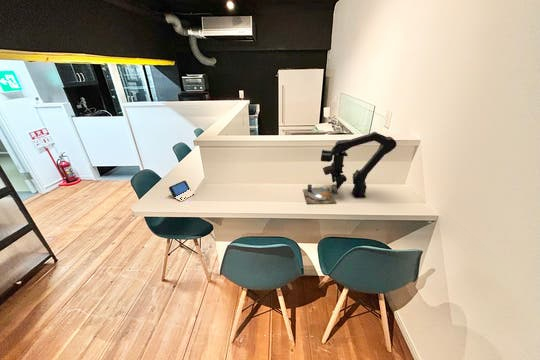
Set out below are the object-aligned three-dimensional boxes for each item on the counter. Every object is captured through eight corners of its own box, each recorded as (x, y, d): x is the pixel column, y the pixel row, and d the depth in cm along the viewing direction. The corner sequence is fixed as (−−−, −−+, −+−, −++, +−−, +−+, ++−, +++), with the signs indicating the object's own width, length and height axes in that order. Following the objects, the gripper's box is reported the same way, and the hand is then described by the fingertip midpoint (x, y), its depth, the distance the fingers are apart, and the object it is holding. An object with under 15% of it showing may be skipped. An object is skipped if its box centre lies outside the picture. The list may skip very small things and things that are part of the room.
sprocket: (310, 187, 140) (310, 179, 137) (333, 191, 134) (334, 183, 132) (303, 198, 127) (303, 190, 124) (328, 203, 121) (329, 195, 118)
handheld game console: (181, 202, 129) (178, 191, 125) (170, 197, 134) (167, 187, 131) (197, 193, 138) (195, 183, 135) (187, 189, 143) (185, 179, 140)
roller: (336, 191, 137) (337, 184, 135) (338, 194, 133) (339, 187, 131) (330, 191, 137) (331, 184, 135) (331, 194, 134) (332, 187, 131)
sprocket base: (328, 190, 139) (329, 188, 138) (336, 203, 123) (336, 202, 123) (302, 190, 139) (303, 189, 138) (307, 204, 123) (307, 202, 123)
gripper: (321, 157, 135) (319, 179, 142) (328, 168, 118) (326, 193, 125) (338, 157, 135) (336, 179, 142) (348, 168, 118) (345, 192, 125)
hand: (335, 185), depth 133 cm, fingers open, 9 cm apart
